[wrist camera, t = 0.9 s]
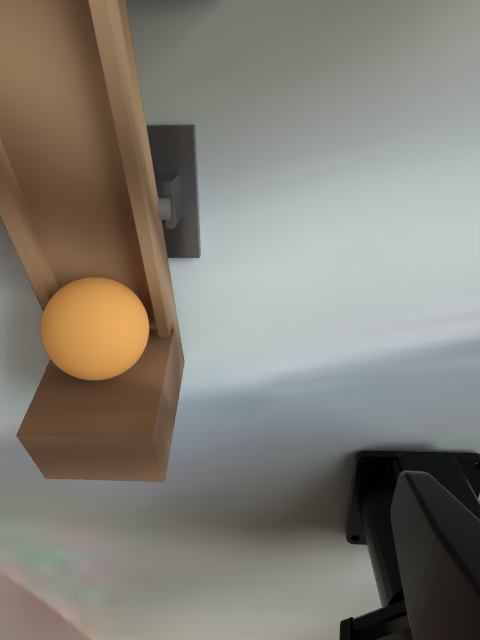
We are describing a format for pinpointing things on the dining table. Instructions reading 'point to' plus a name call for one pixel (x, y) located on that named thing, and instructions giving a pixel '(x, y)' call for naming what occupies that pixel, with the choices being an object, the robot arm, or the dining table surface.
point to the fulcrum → (177, 186)
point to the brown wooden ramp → (87, 227)
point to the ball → (94, 328)
